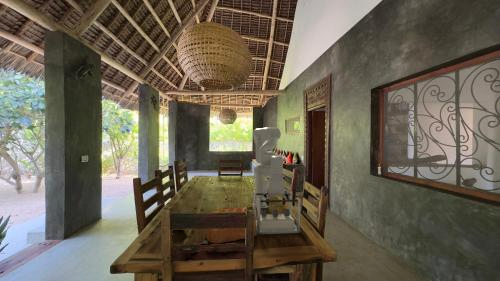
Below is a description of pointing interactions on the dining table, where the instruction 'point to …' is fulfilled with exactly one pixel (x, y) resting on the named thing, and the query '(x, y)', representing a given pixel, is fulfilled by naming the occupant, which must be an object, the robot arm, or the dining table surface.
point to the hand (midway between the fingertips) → (275, 205)
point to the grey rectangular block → (263, 213)
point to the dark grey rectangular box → (275, 213)
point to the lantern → (198, 235)
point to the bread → (228, 229)
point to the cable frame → (296, 228)
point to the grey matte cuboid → (286, 212)
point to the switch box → (276, 222)
